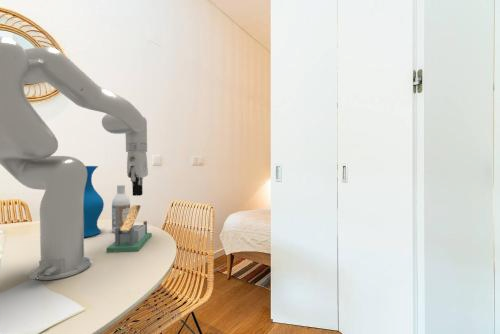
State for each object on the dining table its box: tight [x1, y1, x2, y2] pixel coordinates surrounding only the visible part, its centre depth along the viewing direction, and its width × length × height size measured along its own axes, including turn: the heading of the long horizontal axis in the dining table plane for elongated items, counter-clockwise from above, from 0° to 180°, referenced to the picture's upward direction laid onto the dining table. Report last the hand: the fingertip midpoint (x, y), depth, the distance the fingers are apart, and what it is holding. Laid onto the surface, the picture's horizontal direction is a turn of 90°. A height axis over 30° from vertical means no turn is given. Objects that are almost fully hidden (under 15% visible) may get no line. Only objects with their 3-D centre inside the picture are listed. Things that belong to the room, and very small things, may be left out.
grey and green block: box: [106, 220, 153, 253], centre depth 88 cm, size 16×10×8 cm, turn 7°
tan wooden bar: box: [119, 204, 142, 234], centre depth 88 cm, size 14×3×1 cm, turn 7°
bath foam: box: [111, 184, 131, 234], centre depth 104 cm, size 7×7×20 cm
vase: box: [83, 165, 105, 238], centre depth 98 cm, size 12×13×28 cm
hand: (137, 195), depth 94 cm, fingers closed
